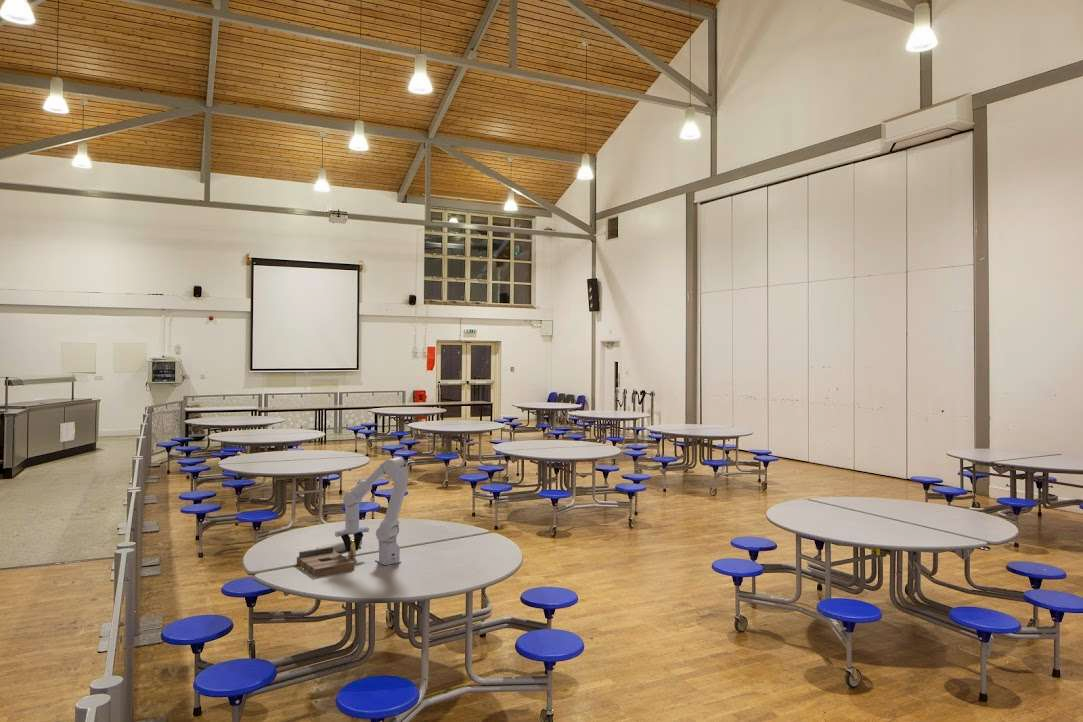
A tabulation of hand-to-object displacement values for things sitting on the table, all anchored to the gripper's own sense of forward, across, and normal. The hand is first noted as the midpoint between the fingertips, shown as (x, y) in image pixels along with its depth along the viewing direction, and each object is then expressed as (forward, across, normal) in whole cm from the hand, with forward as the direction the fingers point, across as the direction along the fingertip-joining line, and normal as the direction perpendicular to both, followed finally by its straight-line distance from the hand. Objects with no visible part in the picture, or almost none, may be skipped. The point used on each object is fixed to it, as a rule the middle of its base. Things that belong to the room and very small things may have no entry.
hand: (352, 550), depth 289 cm
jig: (+3, +14, +6) cm, 16 cm away
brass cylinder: (+2, 0, 0) cm, 2 cm away
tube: (+3, +1, -13) cm, 14 cm away
